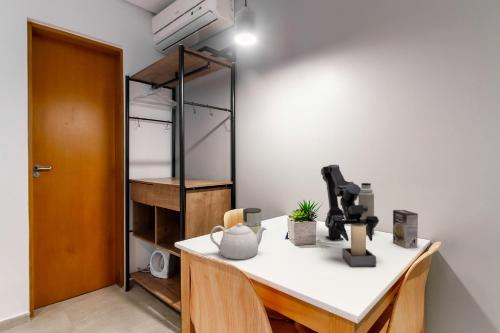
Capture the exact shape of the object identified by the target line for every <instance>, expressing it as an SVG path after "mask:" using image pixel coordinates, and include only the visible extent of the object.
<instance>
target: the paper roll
mask: <svg viewBox="0 0 500 333" xmlns="http://www.w3.org/2000/svg"><path fill="white" fill-rule="evenodd" d="M350 248H351V255H352V256H366V249H367V235H366V226H365V225H363V224H350Z"/></svg>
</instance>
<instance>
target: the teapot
mask: <svg viewBox="0 0 500 333" xmlns="http://www.w3.org/2000/svg"><path fill="white" fill-rule="evenodd" d="M216 229H221V230H222V231H223V232H222V236H221V239H220V243H218V242H217V241H216V240H215V239H214V237H213V234H214V232H215V230H216ZM264 231H267V228H266V227H265V226H261V228H260V229H259V230H258V232H257V234H256V235H255V234H254V233H253V231H252V230H251V229H250V228H249V227H247V226H243V223H242V222H238V223H236V225H233V226H231V227H230V228H227V229H225V227H224V226H222V225H216V226H214V227H213V228H212V229H211V231H210V234H209V238H210V241H211V242H212V243H213V244H214V245H215V246H216V247H217V248H218V250H219V251H220V254H221V256H223V257H224V258H227V259H229V258H230V259H231V260H247V259H251V258H253V257H255V256H256V255H257V254H258V251H259V246H260V245H261V241H262V237H263V232H264Z"/></svg>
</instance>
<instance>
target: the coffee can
mask: <svg viewBox="0 0 500 333" xmlns="http://www.w3.org/2000/svg"><path fill="white" fill-rule="evenodd" d="M242 216H243V217H242V220H243V223H242V225H243V226H247V227H249V228H250V229H251V230H252V231H253V233H254V234H255V235H256V234H257V232H258V230H259V229H260V228H261V227H262V209H261V208H257V207H248V208H247V207H246V208H244V209H242Z"/></svg>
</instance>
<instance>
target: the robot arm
mask: <svg viewBox="0 0 500 333" xmlns="http://www.w3.org/2000/svg"><path fill="white" fill-rule="evenodd" d="M340 169H341V168H340V165H339V164H329V165H327V166H323V167H322V168H321V169H320V175H322V179H323V181H324V182H325V183H326V190H327V191H326V192H327V199H328V206H329V207H328V208H329V209H328V211H327V213H326V218H325V220H324V224H325V225H324V226H325V227H326V228H327V229H328V230H327V231H328V232H327V233H328V235H326V236H325V238H327V239H328V240H331V241H340V240H345V241H346V242H349V241H350V240H349V234H348V233H347V230H346V228H345V225H351V224H364V225H365V226H366V232H367V235H366V236H367V238H368V239H369V241H370V242H372V241H373V235H372V231H373V228H374V229H375V228H376V227H377V225H378V224H379V222H380V219H379V217H378V216H377V215H374V216H367V217H366V219H360V217H362V214H363V213H364V212H367V211H368V207H367V205H366V204H362V205H358V204H356V202H355V201H357V200H358V195H359V193H360V191H361V186H359V185H358V184H356V183H354V181H347V180H346V179H345V177H344V175H343V174H342V171H341V170H340ZM338 198H340V200H338ZM338 201H340V202H338ZM339 204H340V205H339ZM339 206H341V208H342V209H341V208H340V207H339Z"/></svg>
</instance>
